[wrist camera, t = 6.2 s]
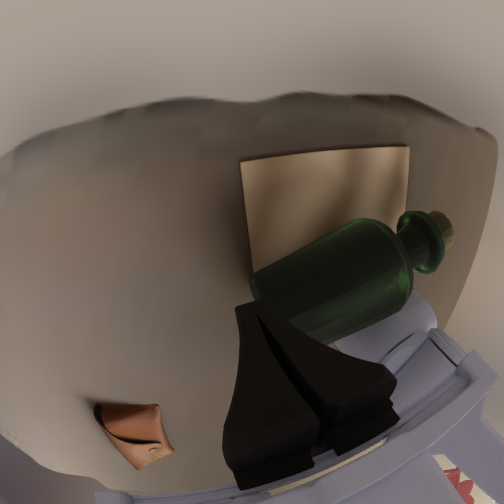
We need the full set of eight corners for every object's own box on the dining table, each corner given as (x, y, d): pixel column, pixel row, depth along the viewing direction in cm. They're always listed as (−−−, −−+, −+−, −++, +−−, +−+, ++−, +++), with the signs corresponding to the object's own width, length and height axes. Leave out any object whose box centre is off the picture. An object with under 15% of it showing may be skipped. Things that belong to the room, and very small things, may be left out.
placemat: (407, 146, 21) (409, 147, 21) (397, 249, 26) (399, 250, 26) (239, 162, 18) (240, 162, 17) (256, 293, 23) (257, 295, 23)
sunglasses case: (178, 452, 35) (164, 483, 29) (142, 437, 36) (126, 465, 30) (159, 401, 27) (134, 445, 21) (111, 380, 28) (84, 417, 22)
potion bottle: (286, 373, 20) (441, 282, 23) (294, 368, 13) (486, 244, 15) (247, 289, 24) (401, 220, 26) (236, 244, 17) (431, 169, 19)
